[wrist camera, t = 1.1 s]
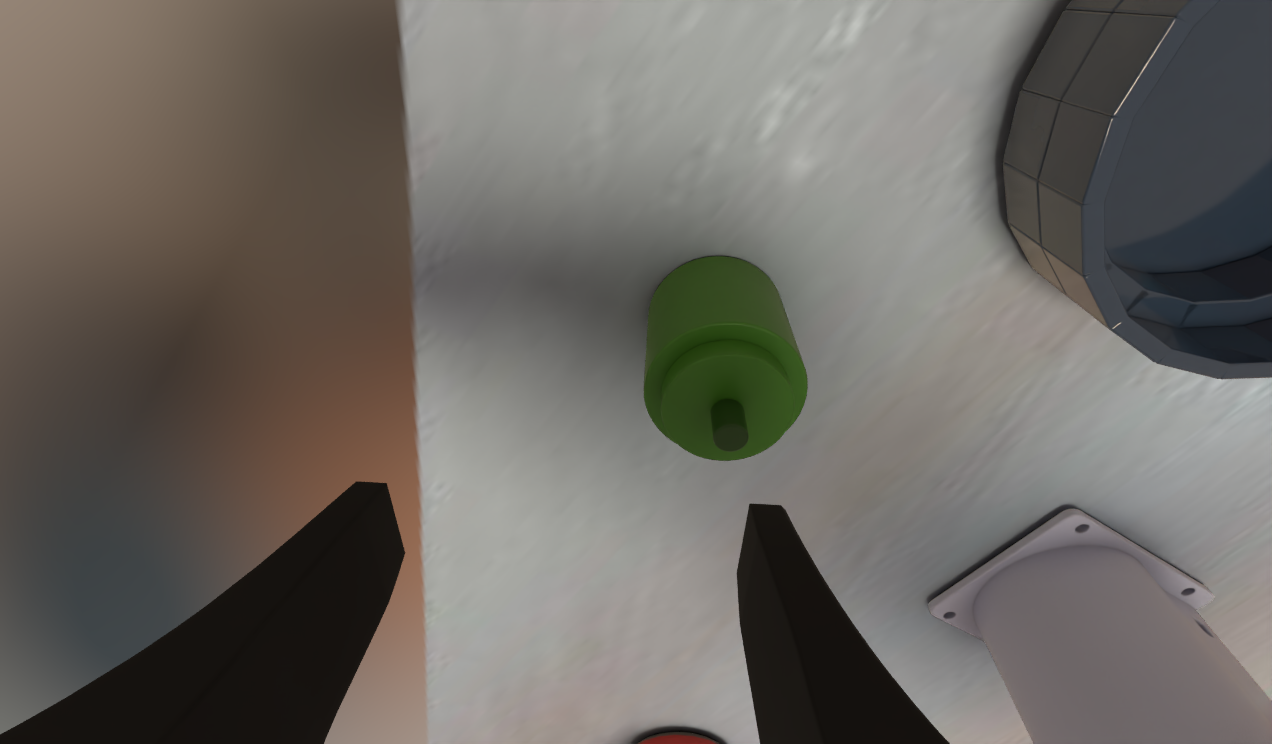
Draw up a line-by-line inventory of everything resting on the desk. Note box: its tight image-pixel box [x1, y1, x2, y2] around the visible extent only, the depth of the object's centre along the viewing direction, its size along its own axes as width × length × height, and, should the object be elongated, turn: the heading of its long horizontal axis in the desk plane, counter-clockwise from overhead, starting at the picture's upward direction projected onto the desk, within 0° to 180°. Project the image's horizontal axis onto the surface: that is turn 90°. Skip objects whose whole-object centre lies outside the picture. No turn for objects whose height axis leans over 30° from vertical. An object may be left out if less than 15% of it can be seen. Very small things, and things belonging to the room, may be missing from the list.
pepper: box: [644, 256, 808, 461], centre depth 18 cm, size 5×5×7 cm
